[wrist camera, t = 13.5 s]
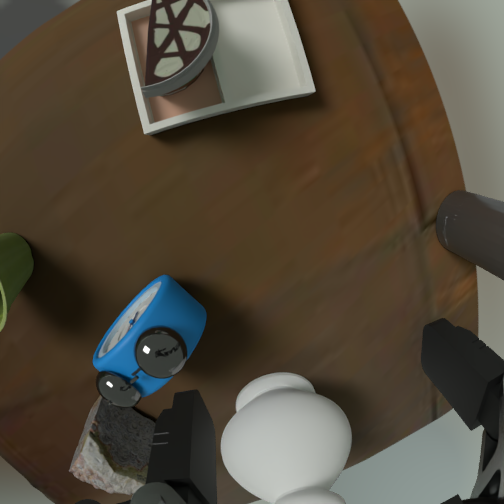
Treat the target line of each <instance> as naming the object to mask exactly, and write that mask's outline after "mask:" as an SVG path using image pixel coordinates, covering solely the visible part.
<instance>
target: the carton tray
mask: <svg viewBox="0 0 504 504" xmlns="http://www.w3.org/2000/svg"><path fill="white" fill-rule="evenodd" d="M209 1H210V2H211V4H212V5H213V7H214V9H215V11H216V14H217V17H218V21H219V37H218V42H217V45H216V48H215V51H214V53H213V55H212V57H211V59H210V60H209V61H208V63H207V64H206V66H205V68H204V71H203V72H202V73H201V75H200V76H199V77H198V79H197V80H196V81H195V82H194V83H193V84H191V85H190V86H189V87H187V88H186V89H185V90H182V91H180V92H177V93H175V94H173V95H168V96H155V97H149V98H145V96H144V94H143V92H142V91H143V90H142V89H141V87H144V86H145V72H146V55H147V37H148V25H149V18H150V10H151V3H152V0H147V1H144V2H141V3H138V4H135V5H132V6H130V7H127V8H124V9H121V10H119V11H117V16H118V21H119V26H120V31H121V36H122V41H123V46H124V51H125V56H126V60H127V65H128V69H129V74H130V78H131V82H132V87H133V91H134V95H135V99H136V103H137V107H138V111H139V115H140V119H141V123H142V127H143V131H144V134H146V135H153V134H156V133H159V132H162V131H165V130H168V129H171V128H175V127H178V126H181V125H184V124H188V123H191V122H195V121H198V120H202V119H205V118H209V117H213V116H217V115H220V114H224V113H228V112H232V111H236V110H241V109H245V108H249V107H254V106H258V105H263V104H268V103H272V102H277V101H282V100H288V99H293V98H299V97H305V96H309V95H311V94H312V93H314V92H316V91H315V87H314V83H313V80H312V76H311V72H310V69H309V65H308V62H307V59H306V55H305V52H304V49H303V45H302V42H301V39H300V36H299V33H298V29H297V26H296V23H295V20H294V17H293V14H292V11H291V9H290V6H289V3H288V0H209Z"/></svg>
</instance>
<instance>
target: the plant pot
mask: <svg viewBox="0 0 504 504" xmlns="http://www.w3.org/2000/svg"><path fill="white" fill-rule="evenodd" d="M33 267H34V261H33V258H32V254H31V249H30V247H29V245H28V244H27V242H26V241H25V240H24V239H23V238H22V237H21V236H19V235H17V234H15V233H4V234H0V332H1V330H2V329H3V327H4V325H5V323H6V319H7V313H8V312H9V310H10V307H11V304H12V303H13V301H14V300H15V298H16V297H17V295H18V294H19V292H20V291H21V289H22V288H23V286H24V285H25V283H26V282H27V280H28V279H29V277H30V276H31V274H32V271H33Z"/></svg>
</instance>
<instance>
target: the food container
mask: <svg viewBox="0 0 504 504" xmlns="http://www.w3.org/2000/svg"><path fill="white" fill-rule="evenodd" d="M218 37H219V21H218V17H217V14H216V11H215V9H214V7H213V5H212V4H211V2H210V1H209V0H152V3H151V10H150V18H149V25H148V37H147V55H146V72H145V86H144V87H141V89H142V90H143V91H142V92H143V94H144V96H145V98H149V97H155V96H168V95H173V94H175V93H177V92H180V91H182V90H185V89H186V88H187V87H189V86H190V85H191V84H193V83H194V82H195V81H196V80H197V79H198V77H199V76H200V75H201V73H202V72H203V71H204V68H205V66H206V64H207V63H208V61H209V60H210V59H211V57H212V55H213V53H214V51H215V48H216V45H217V42H218Z"/></svg>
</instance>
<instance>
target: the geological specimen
mask: <svg viewBox="0 0 504 504" xmlns="http://www.w3.org/2000/svg"><path fill="white" fill-rule="evenodd" d="M155 424H156V423H154V422H153V421H152V420H150V419H148V418H145V417H143V416H142V415H140V414H139V413H137V412H136V411H135V410H133V409H132V408H119V407H115V406H113V405H111V406H110V405H108V402H106V401H105V400H104V399H103V398H102V397H101V395H100V396H99V398H98V400H97V401H96V402H95V403H94V405H93V407H92V408H91V410H90V413H89V415H88V419H87V421H86V423H85V427H84V429H83V433H82V435H81V438H80V440H79V445H78V447H77V449H76V451H75V454H74V457H73V460H72V463H71V466H70V470H69V472H72V473H73V474H74V476H75V477H76V478H78V479H80V480H82V481H83V482H87V483H90V484H92V485H93V486H94V487H95V488H96V489H99V488H100V489H103V490H105V491H106V492H108V493H124V494H127V495H131V494H134V493H135V492H136V491H137V490H138V489H139V488H140V487H142V486H143V485H145V483H146V478H147V472H148V465H149V459H150V453H151V447H152V446H153V444H152V441H153V436H154V429H155Z"/></svg>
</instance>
